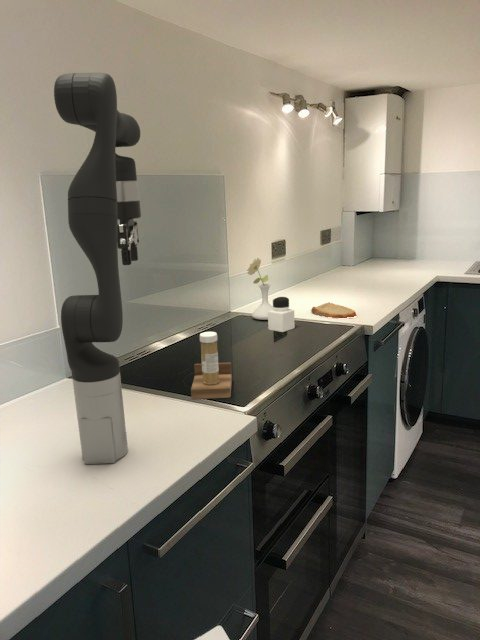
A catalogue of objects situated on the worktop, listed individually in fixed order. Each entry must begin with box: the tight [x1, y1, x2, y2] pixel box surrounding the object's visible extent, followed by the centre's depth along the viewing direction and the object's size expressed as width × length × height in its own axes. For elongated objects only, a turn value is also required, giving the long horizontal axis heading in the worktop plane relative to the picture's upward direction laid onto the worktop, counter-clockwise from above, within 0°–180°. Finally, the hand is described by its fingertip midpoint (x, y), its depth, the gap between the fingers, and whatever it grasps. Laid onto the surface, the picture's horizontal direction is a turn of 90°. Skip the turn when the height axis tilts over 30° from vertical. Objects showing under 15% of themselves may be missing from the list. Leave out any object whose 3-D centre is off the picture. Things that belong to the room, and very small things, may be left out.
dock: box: [190, 361, 233, 400], centre depth 144 cm, size 12×10×6 cm
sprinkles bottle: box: [199, 331, 219, 385], centre depth 141 cm, size 5×5×14 cm
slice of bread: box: [310, 302, 358, 319], centre depth 222 cm, size 18×18×4 cm
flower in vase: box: [247, 257, 274, 321], centre depth 216 cm, size 13×11×25 cm
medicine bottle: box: [267, 296, 296, 333], centre depth 201 cm, size 7×7×12 cm
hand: (130, 262), depth 143 cm, fingers open, 8 cm apart
